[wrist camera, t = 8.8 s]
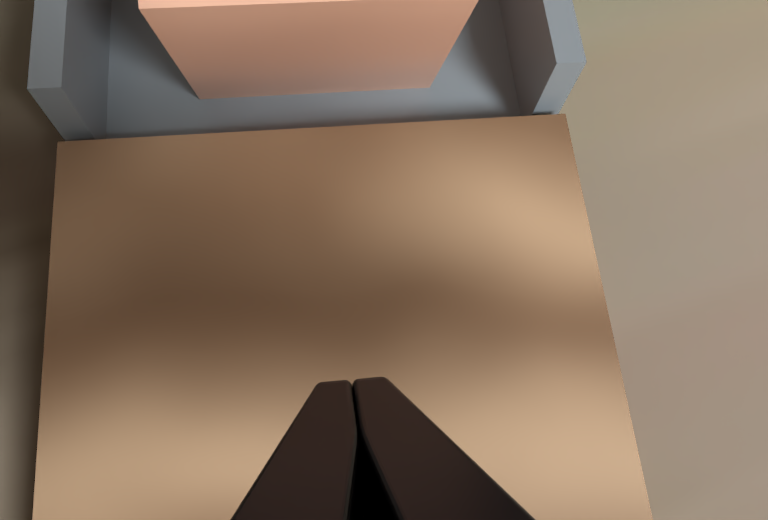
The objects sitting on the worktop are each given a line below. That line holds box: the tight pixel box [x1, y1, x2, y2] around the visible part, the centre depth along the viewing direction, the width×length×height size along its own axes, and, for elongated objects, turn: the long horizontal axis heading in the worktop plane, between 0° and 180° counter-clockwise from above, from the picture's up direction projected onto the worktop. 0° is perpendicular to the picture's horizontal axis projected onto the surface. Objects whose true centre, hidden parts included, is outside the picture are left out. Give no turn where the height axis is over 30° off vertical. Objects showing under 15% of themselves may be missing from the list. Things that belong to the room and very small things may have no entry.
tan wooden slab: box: [32, 114, 653, 520], centre depth 18 cm, size 12×14×2 cm
